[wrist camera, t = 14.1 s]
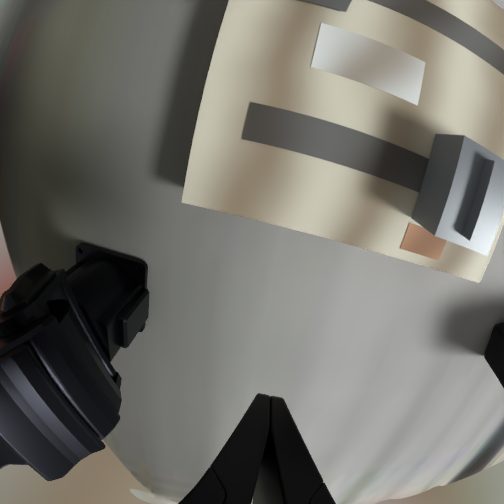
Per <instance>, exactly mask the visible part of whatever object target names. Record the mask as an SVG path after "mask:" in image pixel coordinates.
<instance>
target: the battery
mask: <svg viewBox="0 0 504 504" xmlns="http://www.w3.org/2000/svg"><path fill="white" fill-rule="evenodd" d="M484 357H485V359H486V361H487V362H488V364H489V365H490V367H491V368H492V370H493V372H494V373H495V375H496V376H497V378H498V379H499V381H500V383H501V384H502V386H503V388H504V323H501V324H498V325H496V326H495V327H494V330H493V333H492V336H491V339H490V342H489V345H488V347H487V350H486V353H485V356H484Z"/></svg>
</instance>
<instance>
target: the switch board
mask: <svg viewBox="0 0 504 504" xmlns="http://www.w3.org/2000/svg"><path fill="white" fill-rule="evenodd" d="M435 134H452V135H465V136H466V137H468V138H470V139H472V140H473V141H475V142H477V143H478V144H480V145H481V146H483V147H485V148H486V149H488V150H489V151H491V152H492V153H494V154H496V155H497V156H499V157H500V158H502V159H503V160H504V10H503V9H502V8H501V7H499V6H498V5H497V4H495V3H494V2H493V1H491V0H352V1H351V3H350V5H349V7H348V9H347V11H346V12H343V11H340V10H337V9H333V8H330V7H326V6H322V5H318V4H314V3H310V2H306V1H301V0H229V2H228V5H227V8H226V11H225V15H224V18H223V21H222V24H221V28H220V31H219V35H218V38H217V42H216V45H215V49H214V52H213V56H212V60H211V64H210V68H209V71H208V75H207V79H206V83H205V88H204V92H203V96H202V100H201V105H200V109H199V113H198V118H197V123H196V127H195V132H194V137H193V142H192V147H191V152H190V157H189V163H188V168H187V174H186V179H185V185H184V191H183V197H182V203H186V204H191V205H195V206H199V207H204V208H208V209H212V210H216V211H221V212H225V213H229V214H233V215H237V216H241V217H246V218H250V219H254V220H258V221H262V222H266V223H270V224H274V225H278V226H282V227H285V228H289V229H293V230H297V231H301V232H305V233H309V234H312V235H316V236H320V237H324V238H327V239H331V240H335V241H338V242H342V243H346V244H349V245H353V246H357V247H360V248H364V249H367V250H371V251H374V252H378V253H381V254H385V255H388V256H392V257H395V258H399V259H402V260H406V261H409V262H412V263H416V264H419V265H422V266H426V267H429V268H432V269H436V270H439V271H442V272H445V273H449V274H452V275H455V276H458V277H461V278H464V279H468V280H471V281H474V282H477V283H480V281H481V279H482V277H483V274H484V272H485V270H486V268H487V265H488V263H489V261H490V258H491V256H492V254H493V251H494V249H495V246H496V243H497V241H498V238H499V235H500V233H501V230H502V227H503V224H504V212H503V215H502V218H501V221H500V224H499V227H498V230H497V233H496V235H495V238H494V241H493V243H492V246H491V248H490V251H489V253H488V256H485V255H483V254H481V253H478V252H476V251H473V250H471V249H468V248H466V247H463V246H460V245H458V244H455V243H453V242H450V241H447V240H445V239H442V238H439V237H436V236H434V235H433V234H432V233H430V232H429V231H428V230H426V229H425V228H424V227H422V226H421V225H420V224H418V223H417V222H416V221H414V220H413V219H411V216H412V213H413V211H414V208H415V205H416V202H417V198H418V195H419V192H420V189H421V186H422V182H423V179H424V176H425V172H426V169H427V165H428V161H429V158H430V154H431V150H432V146H433V142H434V138H435Z"/></svg>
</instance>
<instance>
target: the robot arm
mask: <svg viewBox="0 0 504 504" xmlns="http://www.w3.org/2000/svg"><path fill="white" fill-rule="evenodd" d="M81 248H82V250H83V251H82V250H81ZM139 266H141V267H142V269H143V270H141V269H140V268H139ZM147 274H148V266H147V264H146V263H145V262H144V261H142V260H138V259H135V258H131V257H128V256H124V255H121V254H118V253H114V252H111V251H108V250H104V249H101V248H98V247H94V246H91V245H88V244H85V243H80V244H79V245H77V246H76V265H74V266H73V267H72V268H70V269H69V270H68V271H66V272H65V270H64V269H60V270H56V271H51V269H48V268H47V267H46V266H45V265H43V264H42V263H40V264H36V265H35V266H33V267H32V268H30V269H29V270H27V271H26V272H25V273H23V274H22V275H21V276H20V277H18V278H17V279H16V281H15V282H14V283H13V284H12V286H11V287H10V288H9V289H8V290H7V291H5V292H4V293H3V294H2V296H1V298H0V469H1V468H3V467H5V466H7V465H9V464H13V465H29V466H30V467H31V468H33V469H34V470H35V471H36V472H38V474H40V475H41V476H42V477H43V478H45V479H46V480H47V481H52V480H55V479H59V478H62V477H63V476H65V475H66V474H67V473H68V472H69V471H70V470H71V469H72V468H73V467H74V465H76V464H77V463H78V462H79V461H80V460H82V459H83V458H85V457H87V456H88V455H90V454H92V453H94V452H97V451H100V450H102V449H104V448H105V445H104V443H103V442H102V441H101V440H102V439H104V438H105V437H106V436H107V435H108V434H109V433H110V432H111V431H112V430H113V429H114V428H115V426H116V425H117V423H118V422H119V420H120V415H119V414H118V413H119V409H120V405H121V401H122V399H121V392H120V385H121V377H120V375H119V373H118V372H116V371H115V370H114V368H113V366H112V365H111V363H110V362H111V361H112V359H113V358H114V356H115V355H116V353H117V352H118V350H119V349H120V347H123V348H127V347H128V346H129V345H130V343H131V342H132V340H133V339H134V337H135V336H136V334H137V333H138V332H142V331H143V330H144V328H145V321H146V320H147V318H148V308H149V291H148V289H147ZM252 498H253V504H336V503H335V501H334V500H333V498H332V496H331V494H330V492H329V491H328V489H327V487H326V485H325V483H323V479H322V477H321V475H320V473H319V471H318V469H317V467H316V465H315V463H314V461H313V459H312V457H311V455H310V453H309V451H308V449H307V447H306V445H305V443H304V441H303V439H302V436H301V434H300V432H299V430H298V428H297V426H296V424H295V422H294V420H293V418H292V416H291V414H290V411H289V409H288V407H287V405H286V403H285V401H284V399H283V398H281V397H276V396H271V397H270V396H269V395H265V394H260V393H258V394H257V395H256V397H255V398H254V400H253V402H252V403H251V405H250V406H249V408H248V410H247V411H246V413H245V414H244V416H243V418H242V419H241V421H240V422H239V424H238V425H237V427H236V429H235V430H234V432H233V433H232V435H231V436H230V438H229V439H228V441H227V442H226V444H225V445H224V447H223V448H222V450H221V451H220V453H219V454H218V456H217V457H216V459H215V460H214V461H213V463H212V464H211V466H210V468H208V470H207V471H206V473H205V474H204V476H203V477H202V478H201V479H200V481H199V482H198V483H197V484H196V486H195V487H194V488H193V489H192V490H191V491H190V492H189V493H188V494H187V495H186V496H185V497H184V499H182V500H181V501H180V502H179V503H178V504H251V502H252Z"/></svg>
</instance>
